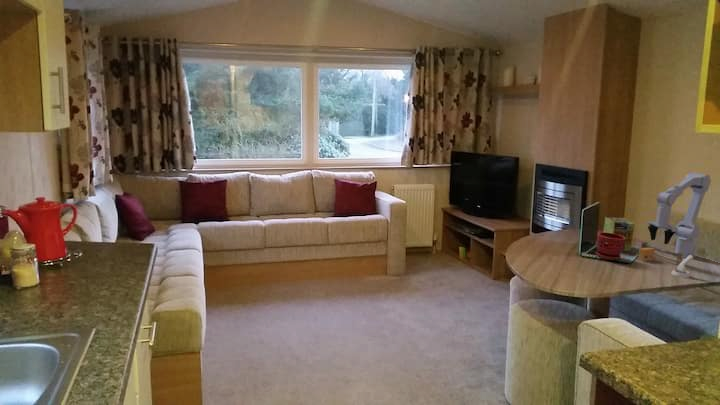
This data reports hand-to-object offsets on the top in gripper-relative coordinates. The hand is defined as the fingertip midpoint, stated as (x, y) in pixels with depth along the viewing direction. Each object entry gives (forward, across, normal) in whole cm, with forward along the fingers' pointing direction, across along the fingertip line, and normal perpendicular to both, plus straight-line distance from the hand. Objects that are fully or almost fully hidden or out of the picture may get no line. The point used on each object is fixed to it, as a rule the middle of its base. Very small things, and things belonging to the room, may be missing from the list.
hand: (659, 241), depth 273 cm
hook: (+9, +22, -12) cm, 27 cm away
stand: (+9, -1, +4) cm, 10 cm away
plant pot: (+9, -9, -24) cm, 27 cm away
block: (+9, -1, -7) cm, 12 cm away
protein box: (+10, -23, -3) cm, 25 cm away
